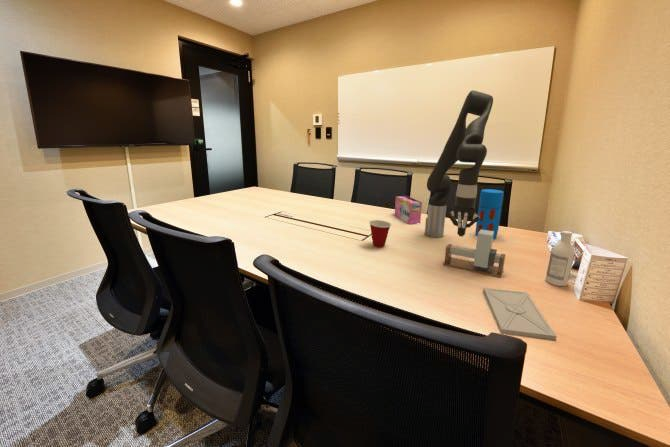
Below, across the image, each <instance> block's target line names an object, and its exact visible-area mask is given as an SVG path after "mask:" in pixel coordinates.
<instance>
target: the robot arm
mask: <svg viewBox="0 0 670 447" xmlns="http://www.w3.org/2000/svg"><path fill="white" fill-rule="evenodd" d="M493 104H494V97H493V95H490V94H488V93H485V92H481V91H478V90H470V91H469V93H468V94H467V95H466V98H464V102H463V104H462V107H461V109H460V112H459V114H458V116H457V119H456V123H455V124H454V127H453V129H452V131H451V133H450V135H449V137H448V138H447V141H446V143H445V145H444V147H443V150H442V152H441V154H440V155H439V156H440V157H439V158H438V160H437V162H436V164H435V166H434V167H433V170H432V171H431V173H429V176H428V178H427V182H426V189H427V190H428V191H429V192H430V193H435V194H433V196H431V197H430V198H429V199H428V203H427V204H428V207H427V217H426V218H425V225H424V227H425V228H424V236H428V237H430V238H441V237H444V234H445V232H444V231H445V222H446V213H447V216H448V218H449V220H450V221H451V223H452V224H453V226H456V227H457V232H456V233H457V235H458V237H462V238H463V237H464V236H465V235H466V231H467V228H469V229H470V228H471V227H472V226H474V224H475V223H477V221H478V220H479V219H480V216H478V213H476V209H475V208H476V202H477V201H476V199H477V195H478V183H479V182H478V181H479V175H480V171H481V168H482V166H483V163H484V161H485V159H486V156H487V154H488V148H487V146H486V145H485V144H483V142H484V138H485V129H486V126H487V123H488V120H489V117H490V115H491V111H492V108H493ZM469 114H471V115H473V116H476V117H477V116H478V117H477V118H475V119H474V120H472V121H471V122H470V123H469V124H468V125H467V117H468V115H469ZM457 162H460V163H470V164H471V163H473V164H474V165H473V166H472V167H467V168H462V169H460V170H459V173H458V174H459V175H458V182H457V183H458V184H457V188H456V192H455V199H454V200H455V202H454V207H453V209H452V210H451V211H449V212H447V205H448V204H447V203H448V201H449V200H450V193H451V187H452V182H451V178H450V175H448V174H446V173H447V172H448V171H449V170H450V169H451V168H452V167H453V166H454V165H455V164H456V163H457ZM471 218H472V220H471V221H470V222H469V223H468V221H469V220H470V219H471Z"/></svg>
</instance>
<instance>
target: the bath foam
mask: <svg viewBox="0 0 670 447" xmlns="http://www.w3.org/2000/svg"><path fill="white" fill-rule="evenodd" d="M572 236H573V232H571V231H569V230H562V231H561V237H560V240H559V241H558V242H557V243H556V244H555V245H554V246H553V247H552V249H551V252H550V256H549V260H548V266H547V269H546V275H545V281H546V282H547V283H548V284H551V285H554V286H558V287H565V286H568V284H569V281H570V277H571V276H570V275H571V271H572V268H573V263H574V260H575V249H574V247H573V245H572V243H571V241H572Z"/></svg>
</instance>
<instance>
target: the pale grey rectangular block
mask: <svg viewBox="0 0 670 447" xmlns="http://www.w3.org/2000/svg"><path fill="white" fill-rule="evenodd" d="M493 236H494V231H488V230H482V229H481V230H480V231H479V233H478V237H476V245H475V250H476V251H475V258H474V260H473V262H474V266H479V267H483V268H487V267H488V258H489V253H490V251H491V249H493V243H494V242H493V241H494V239H493Z"/></svg>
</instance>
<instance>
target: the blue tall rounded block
mask: <svg viewBox="0 0 670 447" xmlns="http://www.w3.org/2000/svg"><path fill="white" fill-rule="evenodd" d="M504 194H505V193H504V191H503V190H500V189H499V190H498V189H493V188H491V189H489V188H486V189H481V190H480V196H479V201H478V203H479V204H478V209H477V215H478V216H480V219H479V220H478V221H476V224H475V233H474V234H475V235H476V236H477V237H478V233H479V231H480V230H481V229H482V230H488V231H494V236H493V240H496V239H497V238H496V237H498V232H499V226H500V221H501V214H502V206H503V202H504ZM475 235H474V236H475ZM476 236H475V237H476ZM477 237H476V238H477ZM495 238H496V239H495Z"/></svg>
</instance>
